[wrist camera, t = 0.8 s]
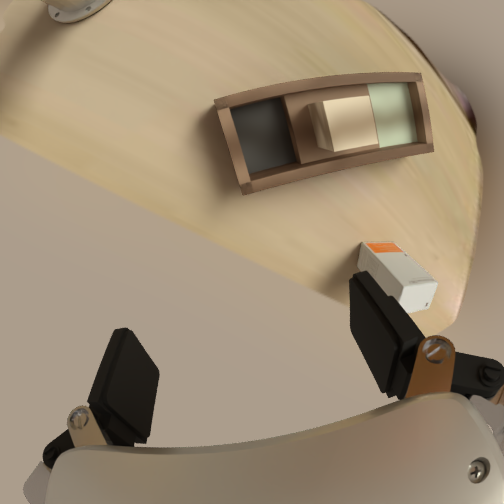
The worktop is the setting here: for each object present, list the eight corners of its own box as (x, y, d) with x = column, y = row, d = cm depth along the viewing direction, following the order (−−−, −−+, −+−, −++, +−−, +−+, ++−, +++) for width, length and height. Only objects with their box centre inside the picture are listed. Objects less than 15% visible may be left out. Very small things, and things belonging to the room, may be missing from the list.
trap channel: (215, 103, 27) (213, 99, 23) (401, 75, 26) (420, 72, 22) (240, 186, 32) (242, 195, 28) (414, 146, 31) (434, 151, 27)
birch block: (307, 104, 26) (322, 101, 21) (348, 98, 25) (368, 95, 21) (317, 146, 28) (334, 152, 23) (356, 139, 28) (378, 143, 23)
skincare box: (393, 240, 37) (440, 281, 26) (387, 264, 39) (429, 310, 28) (360, 240, 37) (403, 286, 26) (355, 266, 38) (393, 317, 28)
